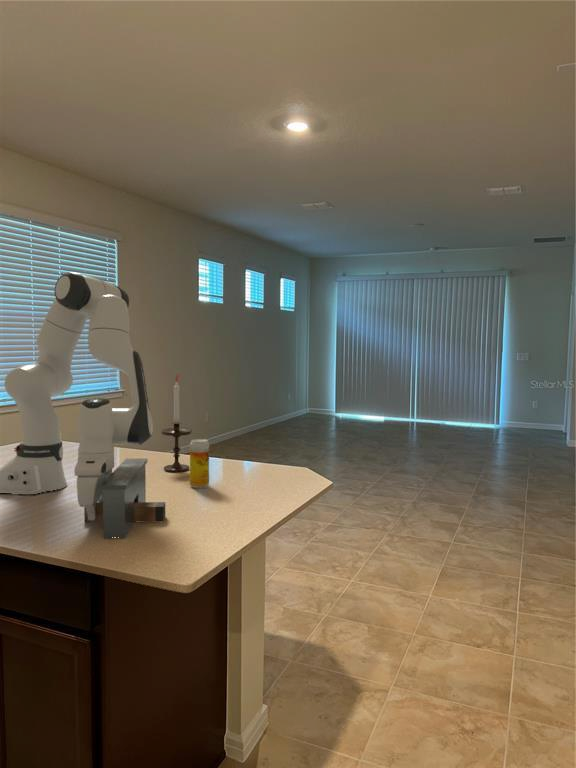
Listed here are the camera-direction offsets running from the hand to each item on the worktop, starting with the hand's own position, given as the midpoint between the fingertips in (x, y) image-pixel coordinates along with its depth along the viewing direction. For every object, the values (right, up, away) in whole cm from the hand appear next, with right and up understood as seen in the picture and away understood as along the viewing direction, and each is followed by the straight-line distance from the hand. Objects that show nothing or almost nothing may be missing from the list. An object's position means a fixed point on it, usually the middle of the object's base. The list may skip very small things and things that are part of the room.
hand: (97, 513), depth 143 cm
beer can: (+21, +1, +34) cm, 40 cm away
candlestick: (+9, +3, +56) cm, 57 cm away
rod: (+7, -2, +1) cm, 7 cm away
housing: (+8, -2, +1) cm, 8 cm away
